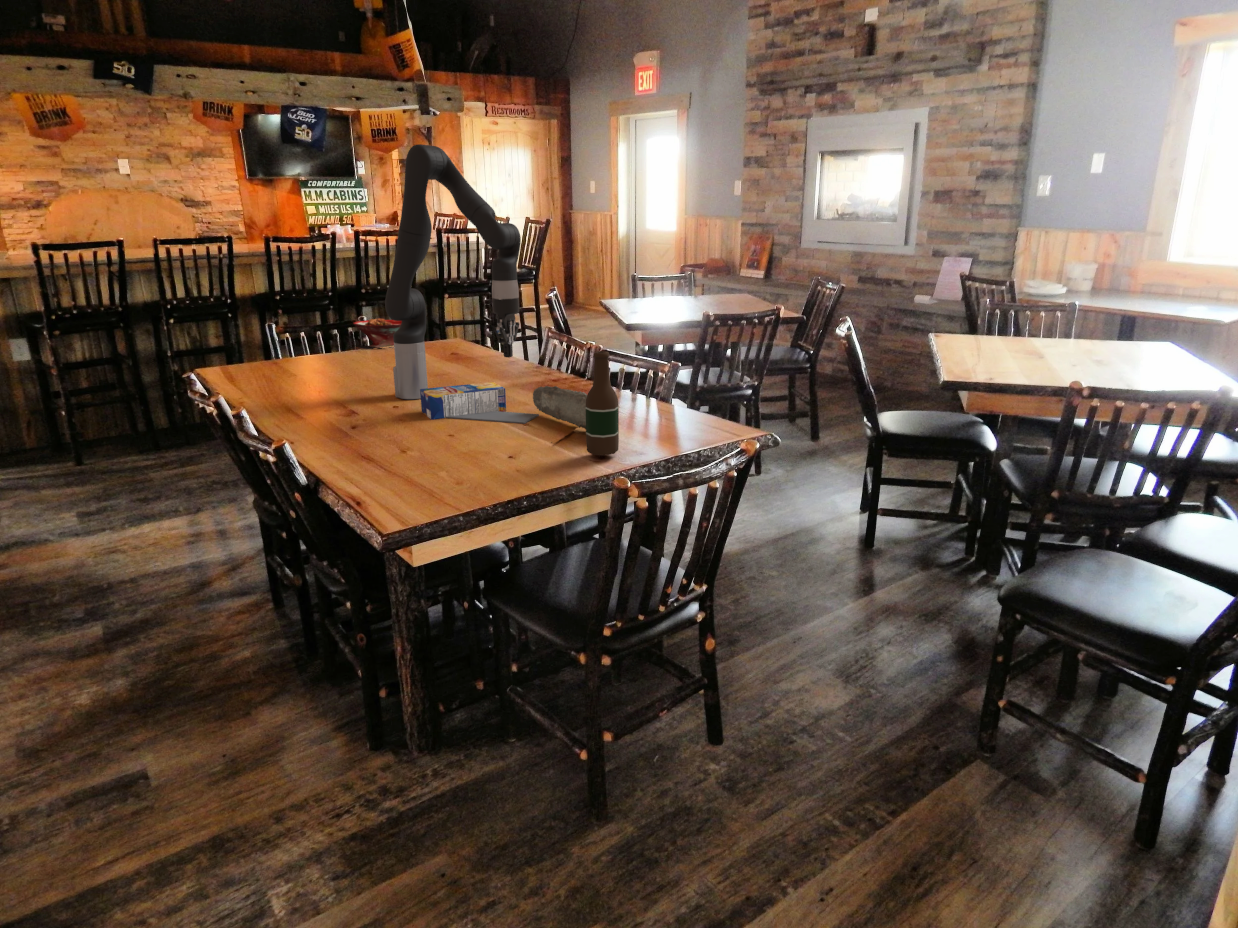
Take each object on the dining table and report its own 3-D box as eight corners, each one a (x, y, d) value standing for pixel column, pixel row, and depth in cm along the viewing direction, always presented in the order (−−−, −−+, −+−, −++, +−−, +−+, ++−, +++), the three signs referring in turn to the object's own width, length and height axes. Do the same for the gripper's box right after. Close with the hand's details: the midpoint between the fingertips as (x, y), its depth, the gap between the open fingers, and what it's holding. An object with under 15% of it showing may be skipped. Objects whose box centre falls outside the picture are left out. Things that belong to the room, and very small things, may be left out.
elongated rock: (527, 415, 234) (526, 381, 231) (542, 412, 238) (541, 378, 235) (603, 440, 208) (603, 401, 206) (619, 436, 212) (619, 398, 209)
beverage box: (506, 411, 239) (431, 420, 229) (494, 404, 248) (421, 412, 239) (505, 388, 237) (429, 396, 227) (493, 382, 246) (419, 389, 237)
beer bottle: (585, 447, 201) (583, 349, 194) (617, 446, 202) (616, 348, 195) (587, 456, 194) (585, 354, 187) (620, 455, 195) (619, 354, 188)
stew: (429, 347, 357) (427, 309, 353) (405, 356, 335) (402, 316, 330) (369, 345, 362) (366, 308, 358) (342, 354, 340) (338, 315, 335)
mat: (445, 418, 231) (445, 416, 231) (462, 410, 240) (462, 408, 240) (524, 423, 224) (524, 422, 224) (538, 415, 234) (538, 414, 233)
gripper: (503, 294, 241) (505, 353, 246) (483, 298, 229) (486, 360, 234) (526, 294, 239) (529, 354, 244) (508, 298, 227) (510, 361, 232)
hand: (508, 357), depth 239 cm, fingers closed
